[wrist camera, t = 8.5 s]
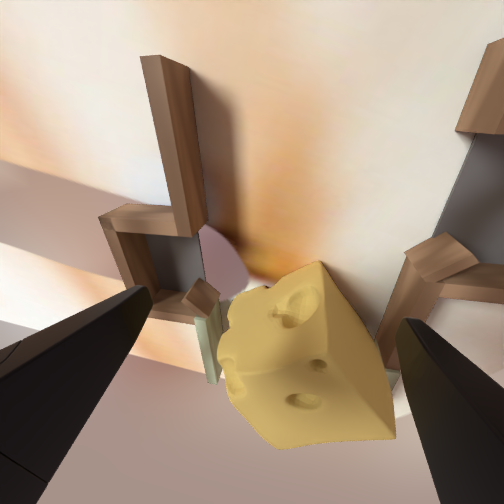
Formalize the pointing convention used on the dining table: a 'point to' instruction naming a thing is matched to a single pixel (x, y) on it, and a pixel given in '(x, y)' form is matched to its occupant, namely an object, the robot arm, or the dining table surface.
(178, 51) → the dining table surface
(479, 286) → the wooden frame
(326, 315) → the cheese
